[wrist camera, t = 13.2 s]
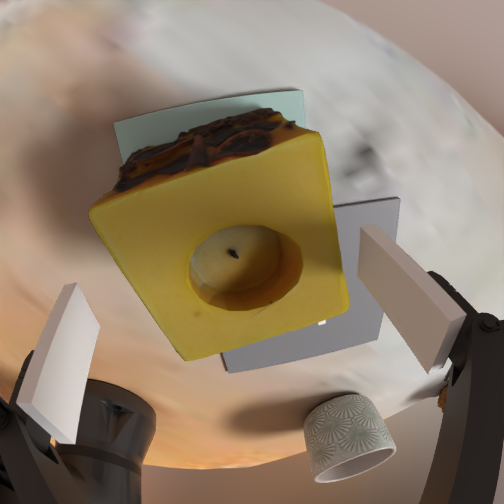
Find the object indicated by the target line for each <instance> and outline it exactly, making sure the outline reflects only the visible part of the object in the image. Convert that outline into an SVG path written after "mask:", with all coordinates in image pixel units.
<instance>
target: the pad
mask: <svg viewBox="0 0 504 504" xmlns="http://www.w3.org/2000/svg"><path fill="white" fill-rule="evenodd" d="M260 108H272V109H273V110H274V111H279V112H281V114H282V116H283V117H284V118H285V119H287V120H289V121H293V120H295V121H296V123H295V124H296V125H297V126H299V127H302V128H305V129H306V117H305V106H304V95H303V90H294V91H281V92H270V93H261V94H252V95H244V96H237V97H230V98H223V99H217V100H211V101H205V102H199V103H194V104H189V105H184V106H179V107H174V108H170V109H165V110H161V111H156V112H152V113H148V114H144V115H140V116H136V117H133V118H129V119H125V120H122V121H118V122H115V123H114V128H115V132H116V137H117V141H118V145H119V150H120V154H121V158H122V162H123V165H124V164H125V161H127V159H128V157H129V156H130V155H131V153H132V152H136V151H137V150H138V149H144V148H145V147H146V146H158V145H160V144H164V143H170V142H174V141H175V140H177V139H178V135H179V134H180V132H188V131H189V129H192V128H195V127H198V126H201V125H206V124H209V123H211V122H213V121H216V120H219V119H225V118H226V117H228V116H236V115H239V114H243V113H247V112H250V111H253V110H257V109H260Z"/></svg>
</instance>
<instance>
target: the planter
mask: <svg viewBox="0 0 504 504" xmlns="http://www.w3.org/2000/svg"><path fill="white" fill-rule="evenodd" d="M304 437H305V443H306V448H307V453H308V457H309V461H310V465H311V469H312V474H313V478H314V481H316V482H320V483H326V482H334V481H339V480H343V479H346V478H350V477H353V476H355V475H358V474H361V473H363V472H365V471H368V470H370V469H372V468H374V467H376V466H378V465H380V464H381V463H383V462H384V461H386V460H387V459H389V458H390V457H391V456H392V455H393V454H394V453H395V452H396V446H395V444H394V442H393V440H392V438H391V436H390V433H389V432H388V429H387V427H386V425H385V423H384V421H383V419H382V417H381V416H380V414H379V412H378V410H377V409H376V407H375V406H374V404H373V403H372V402H371V401H370V400H369V399H368V398H367V397H365V396H362V395H356V394H351V395H344V396H340V397H336V398H333V399H331V400H328V401H326V402H324V403H322V404H321V405H319V406H318V407H316V408H315V409H314V410H313V411H311V412H310V414H309V415H308V416H307V418H306V420H305V422H304Z"/></svg>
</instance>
